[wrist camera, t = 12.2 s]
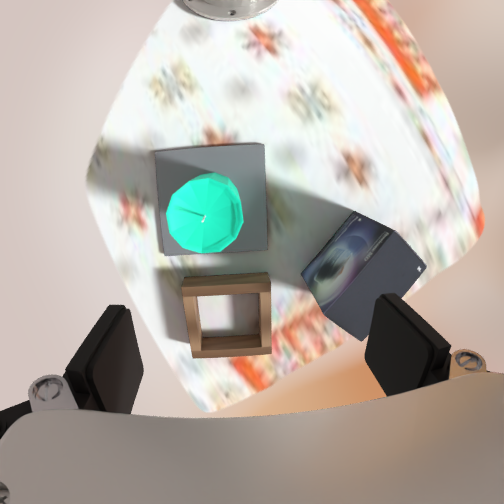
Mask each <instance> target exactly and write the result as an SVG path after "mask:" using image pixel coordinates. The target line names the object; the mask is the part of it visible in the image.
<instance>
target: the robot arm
mask: <svg viewBox="0 0 504 504" xmlns="http://www.w3.org/2000/svg"><path fill="white" fill-rule="evenodd" d="M183 1H184V3H185V4H186V5H187V6H188V7H189V8H190V9H191V10H192V11H194V12H195V13H197V14H199V15H201V16H204V17H207V18H210V19H214V20H222V21H237V20H245V19H249V18H253V17H256V16H258V15H260V14H263V13H265V12H266V11H268V10H269V9H271V8H272V7H273V6H274V5H275V4H276V3H277V1H278V0H192V1H191V0H183ZM231 14H233V15H231ZM450 348H451V345H450V344H449V343H448V342H447V341H446V340H445V339H444V338H443V337H442V336H441V335H440V334H439V333H438V332H437V331H436V330H435V329H434V328H432V326H431V325H429V324H428V323H427V322H426V321H425V320H424V319H423V318H422V317H421V316H420V315H418V313H417V312H415V311H414V310H413V309H412V308H411V307H410V306H409V305H408V304H407V303H406V302H405V301H403V300H402V299H401V298H400V297H399V296H398V295H397V294H396V293H387V294H381V295H380V296H379V298H377V299H376V301H375V306H374V312H373V317H372V322H371V327H370V332H369V337H368V342H367V346H366V351H365V361H366V363H367V365H368V366H369V368H370V370H371V371H372V373H373V374H374V376H375V378H376V379H377V381H378V382H379V384H380V386H381V387H382V389H383V390H384V392H385V394H386V395H387V397H383V398H379V399H374V400H370V401H365V402H360V403H355V404H350V405H345V406H340V407H334V408H327V409H321V410H314V411H306V412H298V413H290V414H279V415H268V416H253V417H233V418H232V417H231V418H179V417H157V416H144V415H132V414H131V411H132V407H133V404H134V401H135V398H136V395H137V392H138V389H139V385H140V383H141V379H142V376H143V372H144V370H143V363H142V359H141V356H140V352H139V347H138V343H137V339H136V335H135V330H134V326H133V321H132V316H131V312H130V310H129V309H126V307H125V306H124V305H109V306H108V307H107V309H106V310H105V311H104V313H103V314H102V316H101V317H100V318H99V320H98V321H97V323H96V324H95V325H94V327H93V328H92V330H91V331H90V333H89V334H88V336H87V337H86V339H85V340H84V342H83V343H82V345H81V346H80V347H79V349H78V350H77V352H76V353H75V355H74V357H73V358H72V359H71V361H70V363H69V364H68V366H67V367H66V369H65V370H66V372H65V373H64V375H63V377H61V376H58V375H46V376H43V377H40V378H38V379H37V380H36V381H34V382H33V383H32V385H31V386H30V388H29V390H28V396H29V400H28V401H25V402H23V403H21V404H18V405H15V406H12V407H10V408H7V409H5V410H2V411H0V504H504V374H503V373H496V372H490V371H487V370H486V362H485V360H484V358H483V357H482V356H481V355H479V354H478V353H476V352H474V351H471V350H466V349H462V350H457V351H455V352H454V353H453V354H452V355H451V354H450V353H449V351H450Z"/></svg>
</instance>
